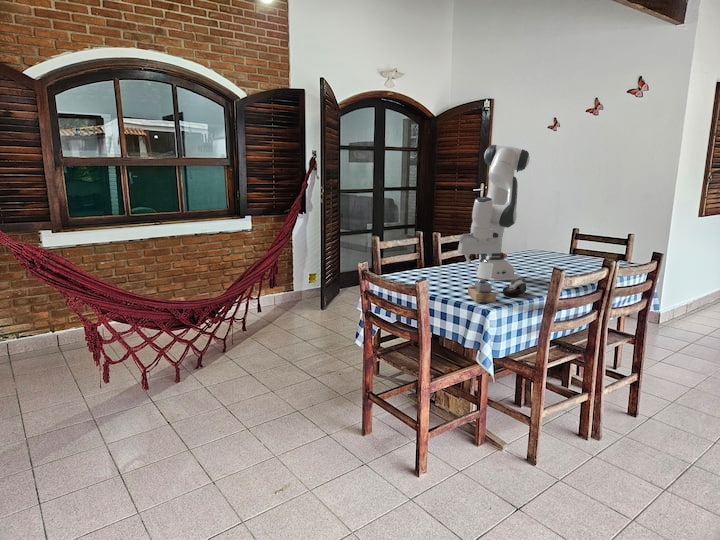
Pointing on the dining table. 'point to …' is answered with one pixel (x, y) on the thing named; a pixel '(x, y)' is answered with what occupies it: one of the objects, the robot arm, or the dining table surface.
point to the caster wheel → (515, 288)
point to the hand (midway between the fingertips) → (477, 263)
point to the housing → (482, 286)
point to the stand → (481, 295)
